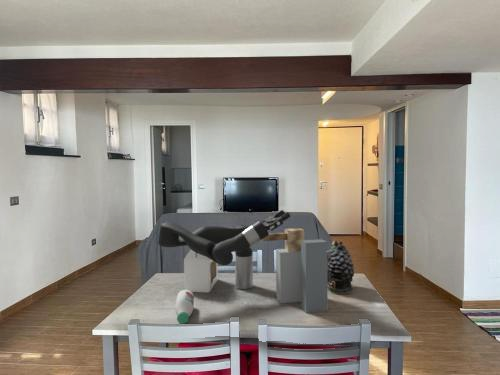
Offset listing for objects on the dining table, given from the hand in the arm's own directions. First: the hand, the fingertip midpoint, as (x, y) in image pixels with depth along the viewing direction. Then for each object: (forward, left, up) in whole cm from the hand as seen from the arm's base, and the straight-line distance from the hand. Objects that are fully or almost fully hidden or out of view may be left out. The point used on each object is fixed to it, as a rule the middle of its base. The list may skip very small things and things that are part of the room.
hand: (286, 213), depth 150 cm
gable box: (-36, +45, -44) cm, 73 cm away
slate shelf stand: (+9, +9, -44) cm, 46 cm away
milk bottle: (-44, +16, -39) cm, 61 cm away
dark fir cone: (+35, +24, -44) cm, 61 cm away
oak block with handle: (+2, +15, -20) cm, 25 cm away
